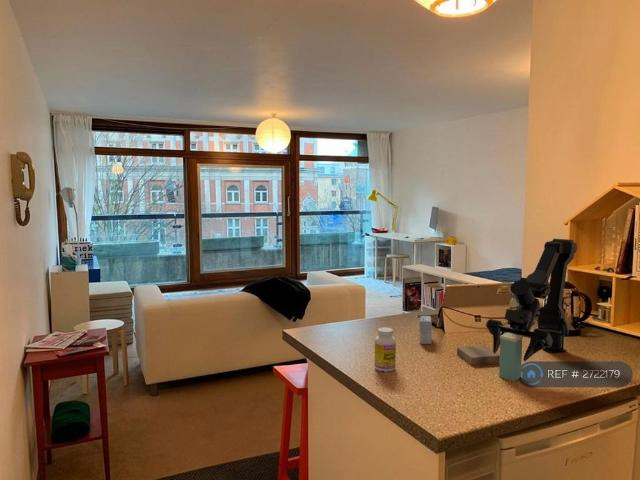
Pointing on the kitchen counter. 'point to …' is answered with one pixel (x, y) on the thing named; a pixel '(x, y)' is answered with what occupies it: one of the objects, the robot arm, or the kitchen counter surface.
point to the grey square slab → (478, 355)
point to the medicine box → (425, 330)
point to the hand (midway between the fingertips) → (508, 356)
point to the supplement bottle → (385, 350)
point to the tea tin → (510, 356)
